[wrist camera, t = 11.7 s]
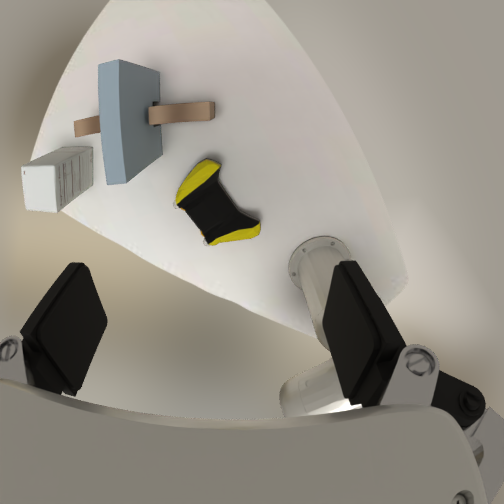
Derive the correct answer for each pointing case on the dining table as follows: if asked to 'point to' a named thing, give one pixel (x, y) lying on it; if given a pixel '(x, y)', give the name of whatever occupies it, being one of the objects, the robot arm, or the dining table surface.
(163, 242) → the dining table surface
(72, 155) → the supplement box
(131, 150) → the slate slotted plate
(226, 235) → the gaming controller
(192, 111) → the walnut slotted plate
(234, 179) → the dining table surface
